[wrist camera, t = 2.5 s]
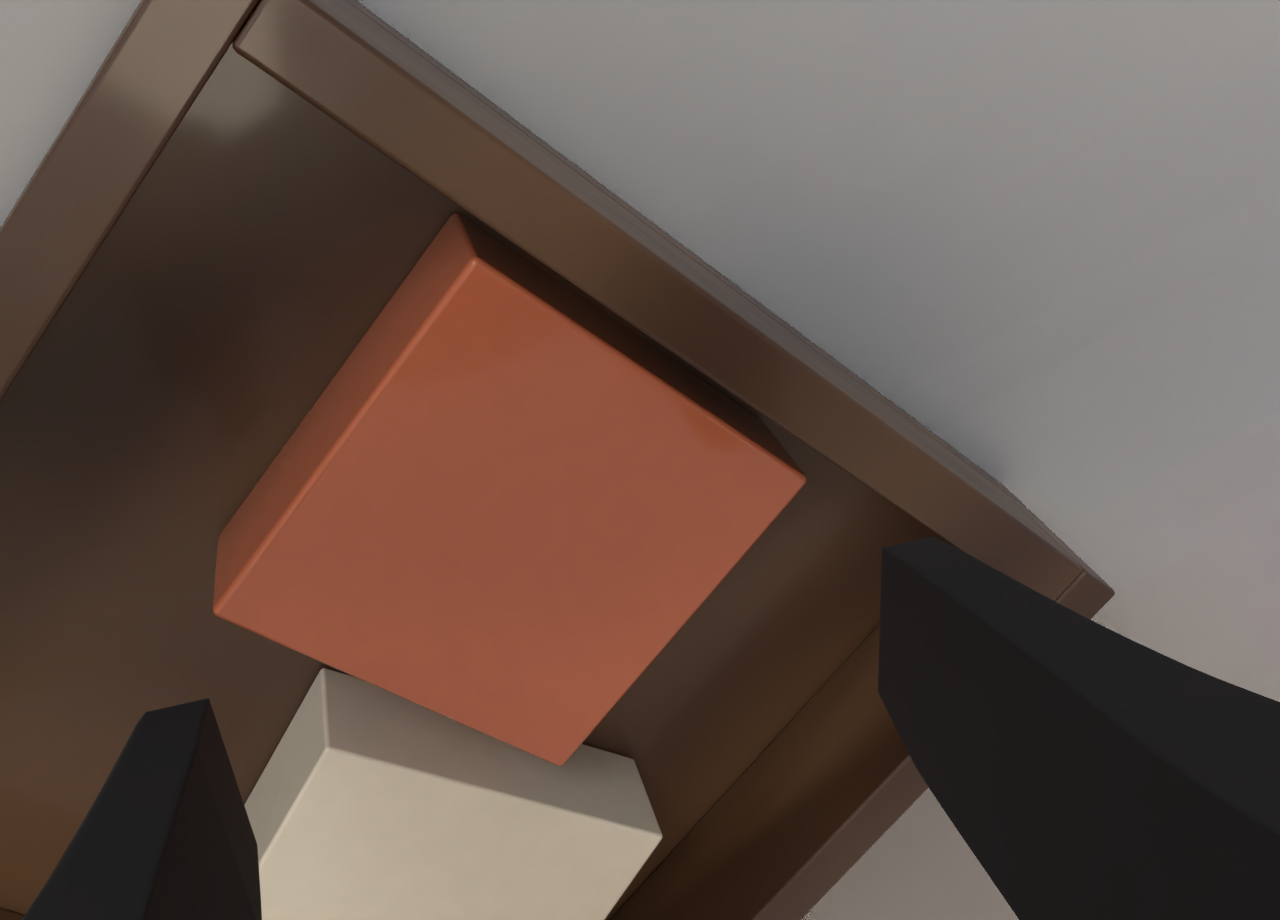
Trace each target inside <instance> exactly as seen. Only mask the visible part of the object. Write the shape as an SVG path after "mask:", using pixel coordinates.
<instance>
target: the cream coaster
mask: <svg viewBox="0 0 1280 920" xmlns="http://www.w3.org/2000/svg"><path fill="white" fill-rule="evenodd" d="M244 806H245V809H246V812H247V815H248V818H249V821H250V824H251V827H252V830H253V833H254V836H255V839H256V842H257V849H258V864H259V878H260V893H261V911H262V920H605V919H606V917H607V916H608V914H609V913H610V912H611V910H612V909H613V907H614V906H615V905H616V903H617V902H618V900H619V899H620V897H621V896H622V895H623V893H624V892H625V890H626V889H627V888H628V886H629V885H630V883H631V882H632V881H633V879H634V878H635V876H636V875H637V873H638V872H639V871H640V869H641V868H642V866H643V865H644V864H645V862H646V861H647V859H648V858H649V857H650V855H651V854H652V852H653V851H654V850H655V848H656V847H657V845H658V844H659V842H660V841H661V840H662V836H663V835H662V832H661V829H660V827H659V824H658V822H657V819H656V816H655V814H654V811H653V808H652V806H651V803H650V800H649V798H648V795H647V792H646V790H645V787H644V784H643V782H642V779H641V776H640V774H639V771H638V768H637V766H636V763H635V761H634V760H633V759H632V758H629V757H625V756H622V755H619V754H615V753H612V752H608V751H605V750H602V749H598V748H595V747H591V746H588V745H585V744H581V745H580V746H579V748H578V749H577V750H576V751H575V752H574V753H573V755H572V756H571V757H570V758H569V759H568V760H567V762H566V763H565V764H564V765H562V766H557V765H555V764H552V763H550V762H548V761H546V760H543V759H541V758H539V757H536V756H534V755H532V754H530V753H527V752H525V751H523V750H521V749H518V748H516V747H514V746H511V745H509V744H507V743H505V742H502V741H500V740H498V739H495V738H493V737H491V736H489V735H486V734H484V733H482V732H479V731H477V730H475V729H473V728H470V727H468V726H466V725H464V724H461V723H459V722H457V721H454V720H452V719H450V718H448V717H445V716H443V715H441V714H438V713H436V712H434V711H432V710H429V709H427V708H425V707H423V706H420V705H418V704H416V703H413V702H411V701H409V700H407V699H404V698H402V697H400V696H397V695H395V694H393V693H391V692H388V691H386V690H384V689H381V688H379V687H377V686H375V685H372V684H370V683H368V682H366V681H363V680H361V679H359V678H356V677H354V676H350V675H347V674H344V673H340V672H337V671H333V670H330V669H327V668H322V669H321V670H320V672H319V673H318V675H317V677H316V679H315V681H314V682H313V684H312V686H311V688H310V689H309V691H308V693H307V695H306V696H305V698H304V700H303V702H302V704H301V705H300V707H299V709H298V711H297V712H296V714H295V716H294V718H293V720H292V721H291V723H290V725H289V727H288V728H287V730H286V732H285V734H284V736H283V737H282V739H281V741H280V743H279V744H278V746H277V748H276V750H275V752H274V753H273V755H272V757H271V759H270V760H269V762H268V764H267V766H266V767H265V769H264V771H263V773H262V775H261V776H260V778H259V780H258V782H257V783H256V785H255V787H254V789H253V791H252V792H251V794H250V796H249V798H248V799H247V801H246V803H245V805H244Z"/></svg>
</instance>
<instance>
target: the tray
mask: <svg viewBox="0 0 1280 920" xmlns="http://www.w3.org/2000/svg"><path fill="white" fill-rule="evenodd" d="M454 213H458V214H461V215H463V216H464V217H466V218H467V219H469V220H470V221H471V222H473V223H474V224H476V225H477V226H479V227H480V228H482V229H483V230H485V231H486V232H488V233H489V234H490V235H492V236H493V237H495V238H496V239H498V240H499V241H501V242H502V243H504V244H505V245H507V246H508V247H509V248H511V249H512V250H514V251H515V252H517V253H518V254H520V255H521V256H523V257H524V258H526V259H527V260H528V261H530V262H531V263H533V264H534V265H536V266H537V267H539V268H540V269H542V270H543V271H545V272H546V273H547V274H549V275H550V276H552V277H553V278H555V279H556V280H558V281H559V282H561V283H562V284H564V285H565V286H566V287H568V288H569V289H571V290H572V291H574V292H575V293H577V294H578V295H580V296H581V297H583V298H584V299H585V300H587V301H588V302H590V303H591V304H593V305H594V306H596V307H597V308H599V309H600V310H601V311H603V312H604V313H606V314H607V315H609V316H610V317H612V318H613V319H615V320H616V321H618V322H619V323H620V324H622V325H623V326H625V327H626V328H628V329H629V330H631V331H632V332H634V333H635V334H637V335H638V336H639V337H641V338H642V339H644V340H645V341H647V342H648V343H650V344H651V345H653V346H654V347H656V348H657V349H658V350H660V351H661V352H663V353H664V354H666V355H667V356H669V357H670V358H672V359H673V360H675V361H676V362H677V363H679V364H680V365H682V366H683V367H685V368H686V369H688V370H689V371H691V372H692V373H694V374H695V375H696V376H698V377H699V378H701V379H702V380H704V381H705V382H707V383H708V384H710V385H711V386H713V387H714V388H715V389H717V390H718V391H720V392H721V393H723V394H724V395H726V396H727V397H729V398H730V399H732V400H733V401H734V402H736V403H737V404H739V405H740V406H742V407H743V408H745V409H746V410H748V411H749V412H751V413H752V414H753V415H755V416H756V417H758V418H759V419H761V420H762V421H763V422H764V423H765V424H766V426H767V427H768V428H769V429H770V431H771V432H772V433H773V435H774V436H775V437H776V438H777V440H778V441H779V442H780V444H781V445H782V446H783V447H784V449H785V450H786V451H787V453H788V454H789V455H790V456H791V458H792V459H793V460H794V462H795V463H796V464H797V465H798V467H799V468H800V469H801V471H802V472H803V473H804V474H805V476H806V478H807V482H806V484H805V485H804V487H803V488H802V489H801V490H800V491H799V492H798V494H797V495H796V496H795V497H794V498H793V499H792V500H791V502H790V503H789V504H788V505H787V506H786V507H785V509H784V510H783V511H782V512H781V513H780V514H779V516H778V517H777V518H776V519H775V520H774V521H773V523H772V524H771V525H770V526H769V527H768V528H767V530H766V531H765V532H764V533H763V534H762V535H761V536H760V538H759V539H758V540H757V541H756V542H755V543H754V545H753V546H752V547H751V548H750V549H749V550H748V552H747V553H746V554H745V555H744V556H743V557H742V559H741V560H740V561H739V562H738V563H737V564H736V565H735V567H734V568H733V569H732V570H731V571H730V572H729V574H728V575H727V576H726V577H725V578H724V579H723V581H722V582H721V583H720V584H719V585H718V586H717V588H716V589H715V590H714V591H713V592H712V593H711V594H710V596H709V597H708V598H707V599H706V600H705V601H704V603H703V604H702V605H701V606H700V607H699V608H698V610H697V611H696V612H695V613H694V614H693V615H692V617H691V618H690V619H689V620H688V621H687V622H686V623H685V625H684V626H683V627H682V628H681V629H680V630H679V632H678V633H677V634H676V635H675V636H674V637H673V639H672V640H671V641H670V642H669V643H668V644H667V646H666V647H665V648H664V649H663V650H662V651H661V653H660V654H659V655H658V656H657V657H656V658H655V659H654V661H653V662H652V663H651V664H650V665H649V666H648V668H647V669H646V670H645V671H644V672H643V673H642V675H641V676H640V677H639V678H638V679H637V680H636V682H635V683H634V684H633V685H632V686H631V687H630V688H629V690H628V691H627V692H626V693H625V694H624V695H623V697H622V698H621V699H620V700H619V701H618V702H617V704H616V705H615V706H614V707H613V708H612V709H611V711H610V712H609V713H608V714H607V715H606V716H605V717H604V719H603V720H602V721H601V722H600V723H599V724H598V726H597V727H596V728H595V729H594V730H593V731H592V733H591V734H590V735H589V736H588V737H587V738H586V740H585V741H584V742H583V743H582V744H585V745H588V746H591V747H595V748H598V749H602V750H605V751H608V752H612V753H615V754H619V755H622V756H625V757H629V758H632V759H633V760H634V761H635V763H636V766H637V768H638V771H639V774H640V776H641V779H642V782H643V784H644V787H645V790H646V792H647V795H648V798H649V800H650V803H651V806H652V808H653V811H654V814H655V816H656V819H657V822H658V824H659V827H660V829H661V832H662V835H663V836H662V840H661V841H660V842H659V844H658V845H657V847H656V848H655V850H654V851H653V852H652V854H651V855H650V857H649V858H648V859H647V861H646V862H645V864H644V865H643V866H642V868H641V869H640V871H639V872H638V873H637V875H636V876H635V878H634V879H633V881H632V882H631V883H630V885H629V886H628V888H627V889H626V890H625V892H624V893H623V895H622V896H621V897H620V899H619V900H618V902H617V903H616V905H615V906H614V907H613V909H612V910H611V912H610V913H609V914H608V916H607V917H606V919H605V920H801V919H802V918H803V917H804V916H805V915H806V914H807V913H808V912H809V911H810V909H811V908H812V907H813V906H814V905H815V904H816V903H817V902H818V901H819V900H820V899H821V898H822V897H823V896H824V895H825V894H826V893H827V892H828V891H829V890H830V889H831V888H832V887H833V886H834V885H835V884H836V883H837V882H838V880H839V879H840V878H841V877H842V876H843V875H844V874H845V873H846V872H847V871H848V870H849V869H850V868H851V867H852V866H853V865H854V864H855V863H856V862H857V861H858V860H859V859H860V858H861V857H862V856H863V855H864V854H865V853H866V851H867V850H868V849H869V848H870V847H871V846H872V845H873V844H874V843H875V842H876V841H877V840H878V839H879V838H880V837H881V836H882V835H883V834H884V833H885V832H886V831H887V830H888V829H889V828H890V827H891V826H892V825H893V824H894V822H895V821H896V820H897V819H898V818H899V817H900V816H901V815H902V814H903V813H904V812H905V811H906V810H907V809H908V808H909V807H910V806H911V805H912V804H913V803H914V802H915V801H916V800H917V799H918V798H919V797H920V796H921V795H922V793H923V792H924V791H925V790H926V789H927V788H928V785H927V784H926V782H925V781H924V779H923V778H922V776H921V775H920V773H919V772H918V770H917V769H916V767H915V765H914V763H913V761H912V759H911V757H910V755H909V753H908V751H907V750H906V748H905V746H904V744H903V742H902V740H901V738H900V736H899V734H898V732H897V730H896V728H895V726H894V724H893V722H892V720H891V718H890V716H889V713H888V711H887V709H886V707H885V705H884V703H883V701H882V699H881V697H880V695H879V693H878V670H879V634H880V597H881V561H882V548H884V547H888V546H893V545H897V544H902V543H906V542H911V541H915V540H920V539H924V538H929V537H935V538H937V539H939V540H941V541H943V542H945V543H947V544H949V545H951V546H953V547H955V548H957V549H959V550H961V551H963V552H965V553H967V554H969V555H970V556H972V557H974V558H976V559H978V560H980V561H981V562H983V563H985V564H987V565H989V566H991V567H993V568H994V569H996V570H998V571H1000V572H1002V573H1003V574H1005V575H1007V576H1009V577H1011V578H1013V579H1014V580H1016V581H1018V582H1020V583H1022V584H1024V585H1025V586H1027V587H1029V588H1031V589H1033V590H1035V591H1036V592H1038V593H1040V594H1042V595H1044V596H1046V597H1048V598H1050V599H1051V600H1053V601H1055V602H1057V603H1059V604H1061V605H1063V606H1065V607H1067V608H1068V609H1070V610H1072V611H1074V612H1076V613H1078V614H1080V615H1082V616H1084V617H1086V618H1088V619H1090V620H1091V618H1092V617H1093V616H1094V615H1095V614H1096V613H1097V612H1098V611H1099V610H1100V609H1101V608H1102V607H1103V606H1104V605H1105V604H1106V603H1107V602H1108V601H1109V600H1110V599H1111V598H1112V597H1113V596H1114V594H1115V593H1114V590H1113V589H1112V588H1111V587H1110V586H1109V585H1108V584H1107V583H1106V582H1105V581H1104V580H1102V579H1101V578H1100V577H1099V576H1098V575H1097V574H1096V573H1095V572H1094V571H1093V570H1092V569H1091V568H1090V567H1089V566H1088V565H1087V564H1086V563H1085V562H1084V561H1083V560H1081V559H1080V558H1079V557H1078V556H1077V555H1076V554H1075V553H1074V552H1073V551H1072V550H1071V549H1070V548H1069V547H1068V546H1067V545H1066V544H1065V543H1064V542H1063V541H1062V540H1060V539H1059V538H1058V537H1057V536H1056V535H1055V534H1054V533H1053V532H1052V531H1051V530H1050V529H1049V528H1048V527H1047V526H1046V525H1045V524H1044V523H1043V522H1042V521H1041V520H1039V519H1038V518H1037V517H1036V516H1035V515H1034V514H1033V513H1032V512H1031V511H1030V510H1029V509H1027V508H1026V506H1025V505H1024V504H1023V503H1022V502H1020V501H1019V500H1018V499H1017V498H1016V497H1015V496H1014V495H1013V494H1012V493H1011V492H1010V491H1009V490H1008V489H1007V488H1006V487H1005V486H1003V485H1002V484H1001V483H999V482H998V481H997V480H995V479H994V478H993V477H991V476H990V475H989V474H987V473H986V472H985V471H983V470H982V469H981V468H979V467H978V466H977V465H975V464H974V463H973V462H971V461H970V460H969V459H967V458H966V457H965V456H963V455H962V454H961V453H959V452H958V451H957V450H955V449H954V448H953V447H951V446H950V445H948V444H947V443H946V442H944V441H943V440H942V439H940V438H939V437H938V436H936V435H935V434H934V433H932V432H931V431H930V430H928V429H927V428H926V427H924V426H923V425H922V424H920V423H919V422H918V421H916V420H915V419H914V418H912V417H911V416H910V415H908V414H907V413H906V412H904V411H903V410H902V409H900V408H899V407H898V406H896V405H895V404H894V403H892V402H891V401H890V400H888V399H887V398H886V397H884V396H883V395H882V394H880V393H879V392H878V391H876V390H875V389H874V388H872V387H871V386H870V385H868V384H867V383H866V382H864V381H863V380H862V379H860V378H859V377H858V376H856V375H855V374H854V373H852V372H851V371H850V370H848V369H847V368H846V367H844V366H843V365H842V364H840V363H839V362H838V361H836V360H835V359H834V358H832V357H831V356H830V355H828V354H827V353H826V352H824V351H823V350H822V349H820V348H819V347H818V346H816V345H815V344H814V343H812V342H811V341H810V340H808V339H807V338H806V337H804V336H803V335H802V334H800V333H799V332H798V331H796V330H795V329H794V328H792V327H791V326H790V325H788V324H787V323H786V322H784V321H783V320H782V319H780V318H779V317H778V316H776V315H775V314H774V313H772V312H771V311H770V310H768V309H767V308H766V307H764V306H763V305H762V304H760V303H759V302H758V301H756V300H755V299H754V298H752V297H751V296H750V295H748V294H747V293H746V292H744V291H743V290H742V289H740V288H739V287H738V286H736V285H735V284H734V283H732V282H731V281H730V280H728V279H727V278H726V277H724V276H723V275H722V274H720V273H719V272H718V271H716V270H715V269H714V268H712V267H711V266H710V265H708V264H707V263H706V262H704V261H703V260H702V259H700V258H699V257H698V256H696V255H695V254H694V253H692V252H691V251H690V250H688V249H687V248H686V247H684V246H683V245H682V244H680V243H679V242H678V241H676V240H675V239H674V238H672V237H671V236H670V235H668V234H667V233H666V232H664V231H663V230H662V229H660V228H659V227H658V226H656V225H655V224H654V223H652V222H651V221H650V220H648V219H647V218H646V217H644V216H643V215H642V214H640V213H639V212H638V211H636V210H635V209H634V208H632V207H631V206H630V205H628V204H627V203H626V202H624V201H623V200H622V199H620V198H619V197H618V196H616V195H615V194H614V193H612V192H611V191H610V190H608V189H607V188H606V187H604V186H603V185H602V184H600V183H599V182H598V181H596V180H595V179H594V178H592V177H591V176H590V175H588V174H587V173H586V172H584V171H583V170H582V169H580V168H579V167H578V166H576V165H575V164H574V163H572V162H571V161H570V160H568V159H567V158H566V157H564V156H563V155H562V154H560V153H559V152H558V151H556V150H555V149H554V148H552V147H551V146H550V145H548V144H547V143H546V142H544V141H543V140H542V139H540V138H539V137H538V136H536V135H535V134H534V133H532V132H531V131H530V130H528V129H527V128H526V127H524V126H523V125H522V124H520V123H519V122H518V121H516V120H515V119H514V118H512V117H511V116H510V115H508V114H507V113H506V112H504V111H503V110H502V109H500V108H499V107H498V106H496V105H495V104H494V103H492V102H491V101H490V100H488V99H487V98H486V97H484V96H483V95H482V94H480V93H479V92H478V91H476V90H475V89H474V88H472V87H471V86H470V85H468V84H467V83H466V82H464V81H463V80H462V79H460V78H459V77H458V76H456V75H455V74H454V73H452V72H451V71H450V70H448V69H447V68H446V67H444V66H443V65H442V64H440V63H439V62H438V61H436V60H435V59H434V58H432V57H431V56H430V55H428V54H427V53H426V52H424V51H423V50H421V49H420V48H419V47H417V46H416V45H415V44H413V43H412V42H411V41H409V40H408V39H407V38H405V37H404V36H403V35H401V34H400V33H399V32H397V31H396V30H395V29H393V28H392V27H391V26H389V25H388V24H387V23H385V22H384V21H383V20H381V19H380V18H379V17H377V16H376V15H375V14H373V13H372V12H371V11H369V10H368V9H367V8H365V7H364V6H363V5H361V4H360V3H359V2H357V1H356V0H142V1H141V2H140V4H139V6H138V7H137V9H136V10H135V12H134V14H133V15H132V17H131V19H130V20H129V22H128V23H127V25H126V27H125V28H124V30H123V31H122V33H121V35H120V36H119V38H118V39H117V41H116V43H115V44H114V46H113V48H112V49H111V51H110V52H109V54H108V56H107V57H106V59H105V60H104V62H103V64H102V65H101V67H100V68H99V70H98V72H97V73H96V75H95V77H94V78H93V80H92V81H91V83H90V85H89V86H88V88H87V89H86V91H85V93H84V94H83V96H82V97H81V99H80V101H79V102H78V104H77V105H76V107H75V109H74V110H73V112H72V114H71V115H70V117H69V118H68V120H67V122H66V123H65V125H64V126H63V128H62V130H61V131H60V133H59V134H58V136H57V138H56V139H55V141H54V143H53V144H52V146H51V147H50V149H49V151H48V152H47V154H46V155H45V157H44V159H43V160H42V162H41V163H40V165H39V167H38V168H37V170H36V172H35V173H34V175H33V176H32V178H31V180H30V181H29V183H28V184H27V186H26V188H25V189H24V191H23V192H22V194H21V196H20V197H19V199H18V201H17V202H16V204H15V205H14V207H13V209H12V210H11V212H10V213H9V215H8V217H7V218H6V220H5V221H4V223H3V225H2V226H1V228H0V920H22V918H23V917H24V915H25V914H26V912H27V911H28V909H29V908H30V906H31V905H32V903H33V902H34V900H35V899H36V897H37V896H38V894H39V893H40V891H41V890H42V888H43V887H44V885H45V883H46V882H47V880H48V879H49V877H50V875H51V874H52V872H53V870H54V869H55V867H56V865H57V864H58V862H59V860H60V859H61V857H62V855H63V854H64V852H65V850H66V849H67V847H68V846H69V844H70V842H71V841H72V839H73V837H74V836H75V834H76V832H77V831H78V829H79V827H80V826H81V824H82V822H83V821H84V819H85V817H86V815H87V814H88V812H89V810H90V808H91V807H92V805H93V803H94V801H95V800H96V798H97V796H98V794H99V792H100V791H101V789H102V787H103V785H104V784H105V782H106V780H107V778H108V776H109V774H110V773H111V771H112V769H113V767H114V765H115V763H116V762H117V760H118V758H119V756H120V754H121V752H122V750H123V748H124V747H125V745H126V743H127V741H128V739H129V737H130V735H131V734H132V732H133V730H134V728H135V726H136V724H137V723H138V721H139V720H140V719H141V717H142V716H143V715H144V714H145V712H148V711H153V710H157V709H162V708H166V707H171V706H175V705H180V704H184V703H189V702H193V701H198V700H202V699H207V698H209V700H210V703H211V706H212V709H213V712H214V715H215V718H216V721H217V724H218V727H219V730H220V733H221V736H222V739H223V742H224V745H225V748H226V751H227V754H228V757H229V760H230V763H231V766H232V769H233V773H234V776H235V779H236V782H237V785H238V788H239V791H240V794H241V797H242V800H243V803H244V805H245V803H246V801H247V799H248V798H249V796H250V794H251V792H252V791H253V789H254V787H255V785H256V783H257V782H258V780H259V778H260V776H261V775H262V773H263V771H264V769H265V767H266V766H267V764H268V762H269V760H270V759H271V757H272V755H273V753H274V752H275V750H276V748H277V746H278V744H279V743H280V741H281V739H282V737H283V736H284V734H285V732H286V730H287V728H288V727H289V725H290V723H291V721H292V720H293V718H294V716H295V714H296V712H297V711H298V709H299V707H300V705H301V704H302V702H303V700H304V698H305V696H306V695H307V693H308V691H309V689H310V688H311V686H312V684H313V682H314V681H315V679H316V677H317V675H318V673H319V672H320V670H321V669H322V668H327V669H330V670H333V671H337V672H340V673H344V674H347V673H345V672H343V671H340V670H338V669H336V668H334V667H331V666H329V665H327V664H325V663H322V662H320V661H318V660H315V659H313V658H311V657H309V656H306V655H304V654H302V653H299V652H297V651H295V650H293V649H290V648H288V647H286V646H283V645H281V644H279V643H277V642H274V641H272V640H270V639H268V638H265V637H263V636H261V635H258V634H256V633H254V632H252V631H249V630H247V629H245V628H242V627H240V626H238V625H236V624H233V623H231V622H229V621H227V620H224V619H222V618H220V617H217V616H216V615H215V614H214V613H213V598H214V583H215V568H216V553H217V540H218V537H219V535H220V534H221V532H222V531H223V530H224V528H225V527H226V525H227V524H228V523H229V521H230V520H231V519H232V517H233V516H234V514H235V513H236V512H237V510H238V509H239V508H240V506H241V505H242V503H243V502H244V501H245V499H246V498H247V497H248V495H249V494H250V492H251V491H252V490H253V488H254V487H255V485H256V484H257V483H258V481H259V480H260V479H261V477H262V476H263V474H264V473H265V472H266V470H267V469H268V468H269V466H270V465H271V463H272V462H273V461H274V459H275V458H276V456H277V455H278V454H279V452H280V451H281V450H282V448H283V447H284V445H285V444H286V443H287V441H288V440H289V439H290V437H291V436H292V434H293V433H294V432H295V430H296V429H297V428H298V426H299V425H300V423H301V422H302V421H303V419H304V418H305V416H306V415H307V414H308V412H309V411H310V410H311V408H312V407H313V405H314V404H315V403H316V401H317V400H318V399H319V397H320V396H321V394H322V393H323V392H324V390H325V389H326V387H327V386H328V385H329V383H330V382H331V381H332V379H333V378H334V376H335V375H336V374H337V372H338V371H339V370H340V368H341V367H342V365H343V364H344V363H345V361H346V360H347V358H348V357H349V356H350V354H351V353H352V352H353V350H354V349H355V347H356V346H357V345H358V343H359V342H360V341H361V339H362V338H363V336H364V335H365V334H366V332H367V331H368V330H369V328H370V327H371V325H372V324H373V323H374V321H375V320H376V318H377V317H378V316H379V314H380V313H381V312H382V310H383V309H384V307H385V306H386V305H387V303H388V302H389V301H390V299H391V298H392V296H393V295H394V294H395V292H396V291H397V289H398V288H399V287H400V285H401V284H402V283H403V281H404V280H405V278H406V277H407V276H408V274H409V273H410V272H411V270H412V269H413V267H414V266H415V265H416V263H417V262H418V261H419V259H420V258H421V256H422V255H423V254H424V252H425V251H426V249H427V248H428V247H429V245H430V244H431V243H432V241H433V240H434V238H435V237H436V236H437V234H438V233H439V232H440V230H441V229H442V227H443V226H444V225H445V223H446V222H447V220H448V219H449V218H450V216H451V215H453V214H454ZM347 675H350V674H347ZM350 676H352V675H350Z"/></svg>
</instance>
